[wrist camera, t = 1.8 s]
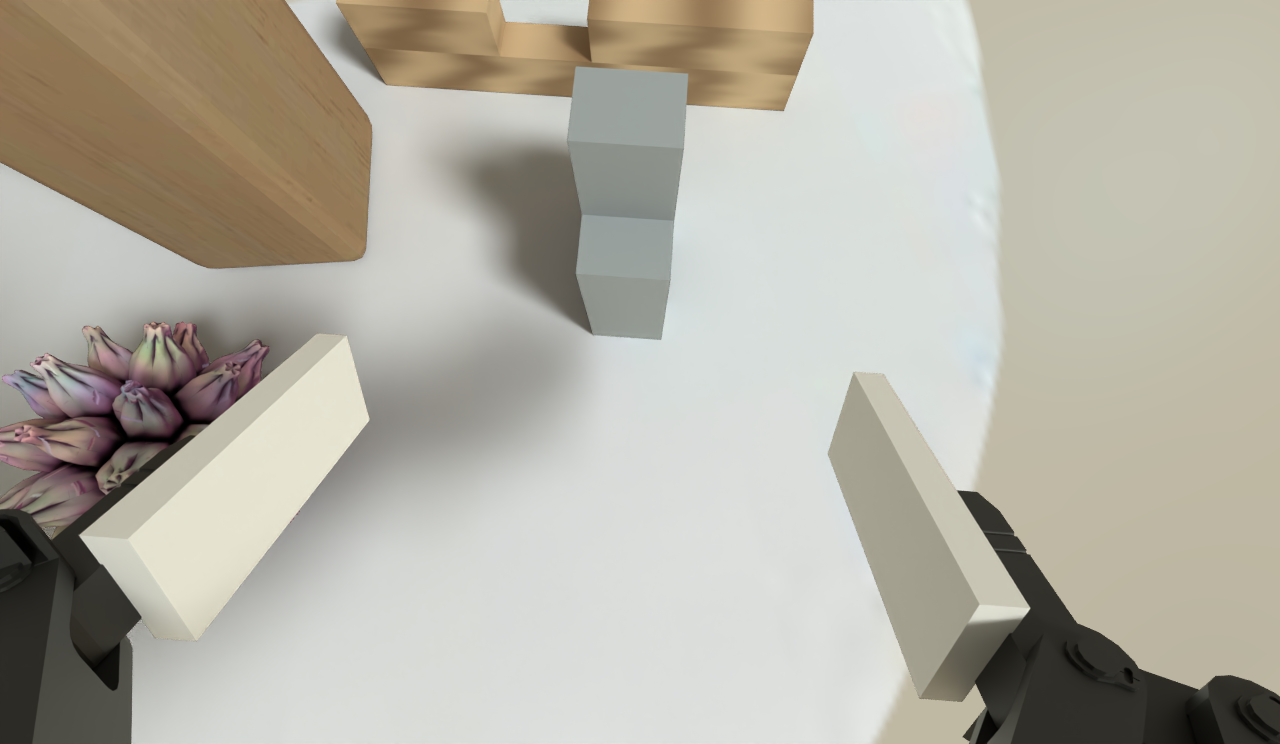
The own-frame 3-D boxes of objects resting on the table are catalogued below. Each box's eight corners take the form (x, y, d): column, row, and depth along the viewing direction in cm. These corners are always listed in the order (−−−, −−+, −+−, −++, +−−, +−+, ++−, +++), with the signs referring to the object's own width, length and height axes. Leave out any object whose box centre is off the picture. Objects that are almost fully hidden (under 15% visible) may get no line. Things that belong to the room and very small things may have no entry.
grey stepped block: (661, 339, 31) (679, 221, 18) (593, 334, 31) (558, 213, 18) (669, 208, 33) (692, 9, 20) (605, 203, 33) (583, 2, 20)
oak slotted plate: (386, 84, 35) (335, 3, 29) (392, 52, 36) (344, -34, 30) (783, 110, 35) (813, 33, 29) (784, 77, 35) (813, -5, 29)
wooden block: (222, 129, 34) (-324, -348, 15) (379, 122, 34) (43, -361, 15) (204, 275, 32) (-466, -59, 13) (372, 266, 32) (-32, -78, 13)
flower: (411, 425, 30) (271, 383, 19) (267, 616, 28) (5, 704, 16) (257, 317, 32) (36, 215, 20) (108, 492, 29) (-239, 492, 18)
